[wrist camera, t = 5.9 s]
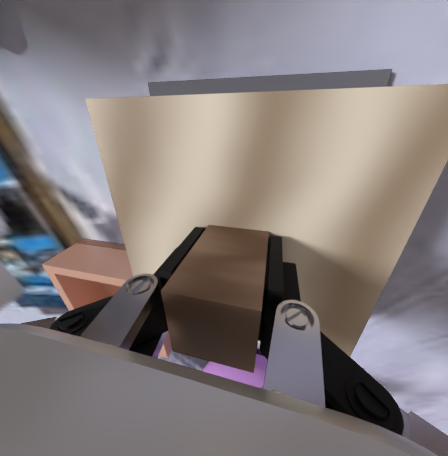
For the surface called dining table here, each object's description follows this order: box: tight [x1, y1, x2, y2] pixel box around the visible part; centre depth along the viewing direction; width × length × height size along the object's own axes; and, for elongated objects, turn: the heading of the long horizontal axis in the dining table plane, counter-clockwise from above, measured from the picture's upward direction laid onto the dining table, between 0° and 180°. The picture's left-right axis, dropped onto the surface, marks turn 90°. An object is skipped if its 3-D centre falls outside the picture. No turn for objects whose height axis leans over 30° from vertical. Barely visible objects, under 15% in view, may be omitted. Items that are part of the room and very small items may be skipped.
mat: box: [148, 69, 392, 96], centre depth 16 cm, size 15×16×1 cm
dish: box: [42, 239, 172, 358], centre depth 23 cm, size 12×12×5 cm
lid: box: [85, 84, 448, 373], centre depth 9 cm, size 15×15×6 cm
